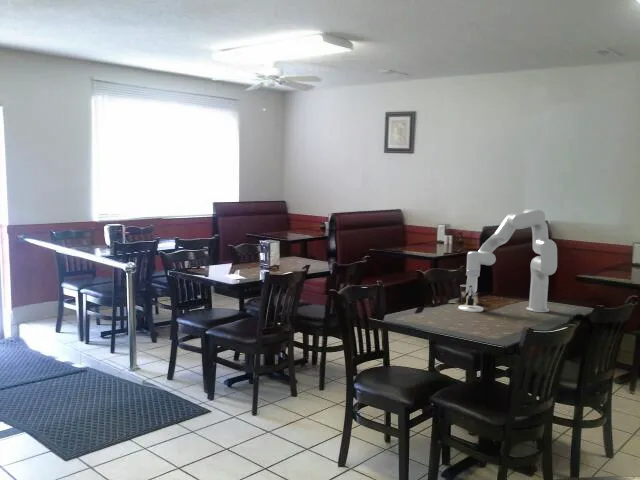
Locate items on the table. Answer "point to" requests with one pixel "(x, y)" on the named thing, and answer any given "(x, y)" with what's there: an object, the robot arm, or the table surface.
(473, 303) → the maple block
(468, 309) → the ceramic dish
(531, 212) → the robot arm
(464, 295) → the coffee mug
